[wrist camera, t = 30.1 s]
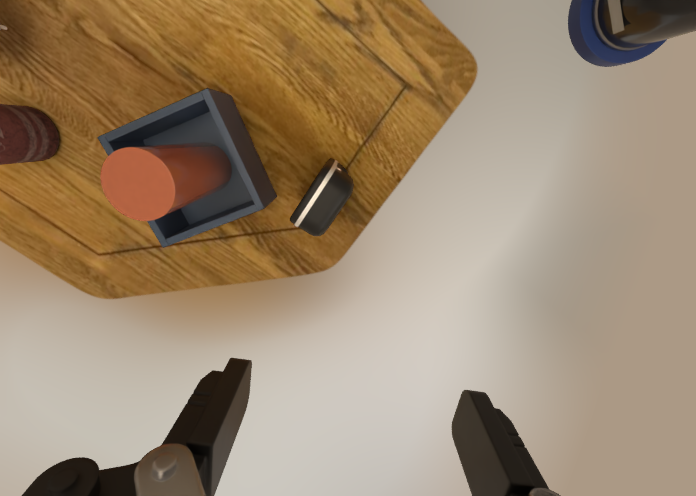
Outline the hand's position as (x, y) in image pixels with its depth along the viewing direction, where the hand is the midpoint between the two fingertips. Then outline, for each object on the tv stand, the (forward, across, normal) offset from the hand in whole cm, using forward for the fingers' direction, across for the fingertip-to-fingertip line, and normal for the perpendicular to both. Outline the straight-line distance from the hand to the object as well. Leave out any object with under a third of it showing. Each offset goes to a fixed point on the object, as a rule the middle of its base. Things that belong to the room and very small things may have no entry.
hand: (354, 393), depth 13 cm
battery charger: (+32, +3, -2) cm, 33 cm away
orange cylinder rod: (+31, +18, -2) cm, 36 cm away
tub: (+32, +18, -2) cm, 37 cm away
